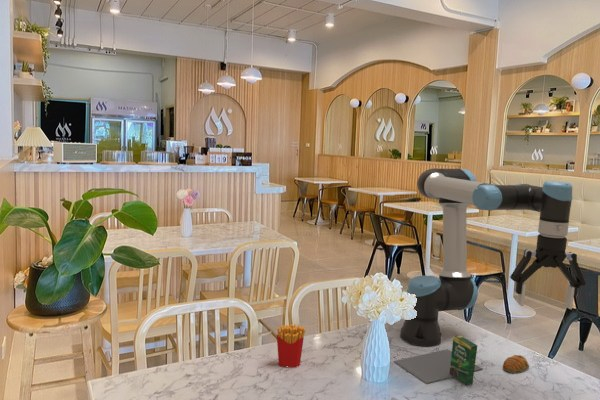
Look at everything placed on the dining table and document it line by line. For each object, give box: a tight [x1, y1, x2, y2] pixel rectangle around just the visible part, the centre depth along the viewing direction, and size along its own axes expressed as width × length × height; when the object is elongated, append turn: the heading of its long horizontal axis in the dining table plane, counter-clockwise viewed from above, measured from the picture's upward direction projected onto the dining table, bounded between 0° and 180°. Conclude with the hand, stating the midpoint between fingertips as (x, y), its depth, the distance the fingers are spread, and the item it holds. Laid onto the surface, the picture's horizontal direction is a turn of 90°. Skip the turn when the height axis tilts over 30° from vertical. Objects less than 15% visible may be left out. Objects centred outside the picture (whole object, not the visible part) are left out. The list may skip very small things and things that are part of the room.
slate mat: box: [393, 348, 484, 385], centre depth 157 cm, size 16×24×1 cm, turn 117°
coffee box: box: [450, 334, 478, 387], centre depth 147 cm, size 8×3×13 cm, turn 24°
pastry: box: [502, 354, 530, 374], centre depth 157 cm, size 9×7×4 cm
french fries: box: [276, 323, 306, 368], centre depth 153 cm, size 9×4×13 cm, turn 92°
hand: (544, 306), depth 139 cm, fingers open, 13 cm apart
